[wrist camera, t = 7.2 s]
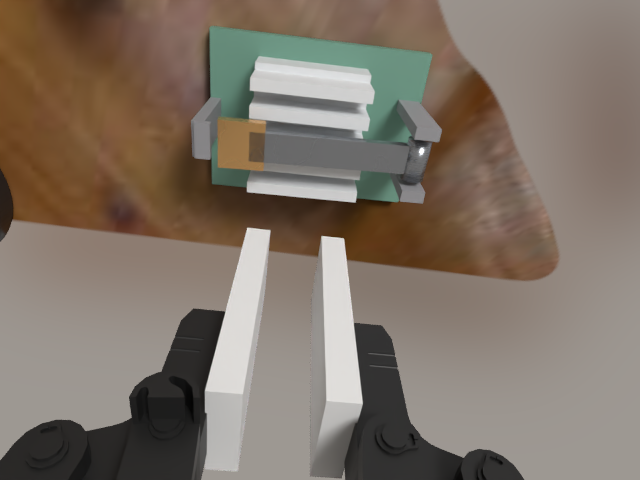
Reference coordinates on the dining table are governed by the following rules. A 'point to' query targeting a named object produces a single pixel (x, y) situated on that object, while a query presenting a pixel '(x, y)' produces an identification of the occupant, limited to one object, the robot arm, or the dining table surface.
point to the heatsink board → (315, 108)
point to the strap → (316, 150)
